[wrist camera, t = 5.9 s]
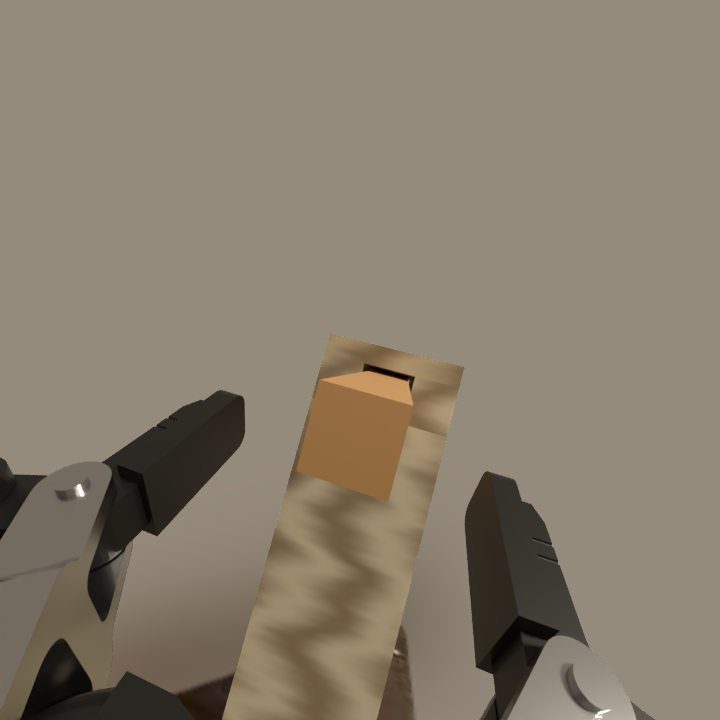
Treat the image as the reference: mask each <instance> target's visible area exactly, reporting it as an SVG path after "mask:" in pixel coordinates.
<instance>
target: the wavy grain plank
mask: <svg viewBox="0 0 720 720" xmlns="http://www.w3.org/2000/svg"><path fill="white" fill-rule="evenodd" d="M370 370H379V371H383V372H386V373H390V374H394V375H398V376H402V377H405V378H407V379H408V380H410V381H409V388H410V392H411V397H412V401H413V405H414V406H413V410H412V414H411V417H410V421H409V425H408V429H407V433H406V436H405V440H404V444H403V448H402V452H401V455H400V459H399V463H398V467H397V471H396V474H395V478H394V482H393V486H392V490H391V494H390V497H389V501H388V502H387V501H384V500H381V499H378V498H375V497H372V496H369V495H366V494H363V493H360V492H357V491H354V490H351V489H348V488H345V487H342V486H339V485H336V484H333V483H330V482H327V481H324V480H321V479H318V478H315V477H312V476H309V475H306V474H303V473H300V472H297V471H296V470H297V466H298V462H299V458H300V454H301V450H302V446H303V442H304V438H305V434H306V430H307V426H308V423H309V419H310V415H311V411H312V407H313V403H314V399H315V395H316V391H317V387H318V383H319V380H320V379H325V378H331V377H337V376H342V375H348V374H353V373H359V372H365V371H370ZM463 370H464V367H461V366H457V365H453V364H449V363H445V362H441V361H437V360H433V359H429V358H425V357H421V356H417V355H413V354H409V353H405V352H401V351H397V350H393V349H389V348H385V347H381V346H378V345H374V344H369V343H365V342H362V341H358V340H354V339H350V338H346V337H341V336H337V335H334V334H330V335H329V339H328V342H327V346H326V349H325V353H324V356H323V360H322V364H321V367H320V371H319V375H318V378H317V381H316V385H315V389H314V392H313V396H312V399H311V403H310V407H309V410H308V414H307V417H306V421H305V424H304V428H303V432H302V435H301V439H300V442H299V446H298V449H297V453H296V457H295V460H294V464H293V467H292V471H291V474H290V478H289V482H288V485H287V489H286V492H285V496H284V500H283V503H282V507H281V510H280V514H279V517H278V521H277V525H276V528H275V532H274V535H273V539H272V542H271V546H270V550H269V553H268V557H267V560H266V564H265V567H264V571H263V575H262V578H261V582H260V585H259V589H258V592H257V596H256V600H255V603H254V607H253V611H252V614H251V618H250V621H249V625H248V628H247V632H246V635H245V639H244V643H243V646H242V650H241V654H240V657H239V661H238V664H237V668H236V671H235V675H234V678H233V682H232V685H231V689H230V693H229V696H228V700H227V703H226V707H225V710H224V714H223V718H222V720H377V716H378V712H379V708H380V704H381V700H382V696H383V692H384V688H385V684H386V680H387V676H388V672H389V668H390V664H391V660H392V656H393V652H394V648H395V644H396V640H397V636H398V632H399V628H400V624H401V620H402V615H403V612H404V608H405V603H406V600H407V595H408V591H409V587H410V583H411V579H412V575H413V571H414V567H415V563H416V559H417V555H418V551H419V547H420V543H421V539H422V535H423V531H424V527H425V523H426V519H427V515H428V511H429V507H430V503H431V499H432V494H433V491H434V487H435V483H436V478H437V474H438V470H439V466H440V462H441V458H442V454H443V450H444V446H445V441H446V438H447V434H448V430H449V426H450V422H451V418H452V414H453V410H454V406H455V402H456V398H457V394H458V390H459V386H460V382H461V378H462V374H463Z"/></svg>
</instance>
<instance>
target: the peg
mask: <svg viewBox="0 0 720 720" xmlns="http://www.w3.org/2000/svg"><path fill="white" fill-rule="evenodd" d="M413 406H414V405H413V401H412V397H411V392H410V388H409V384H408V379H407V378H405V377H402V376H398V375H394V374H390V373H386V372H383V371H379V370H370V371H365V372H359V373H353V374H348V375H342V376H337V377H331V378H325V379H320V380H319V383H318V387H317V391H316V395H315V399H314V403H313V407H312V411H311V415H310V419H309V423H308V426H307V430H306V434H305V438H304V442H303V446H302V450H301V454H300V458H299V462H298V466H297V470H296V471H297V472H300V473H303V474H306V475H309V476H312V477H315V478H318V479H321V480H324V481H327V482H330V483H333V484H336V485H339V486H342V487H345V488H348V489H351V490H354V491H357V492H360V493H363V494H366V495H369V496H372V497H375V498H378V499H381V500H384V501H387V502H388V501H389V497H390V494H391V490H392V486H393V482H394V478H395V474H396V471H397V467H398V463H399V459H400V455H401V452H402V448H403V444H404V440H405V436H406V433H407V429H408V425H409V421H410V417H411V414H412V410H413Z"/></svg>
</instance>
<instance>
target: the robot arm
mask: <svg viewBox="0 0 720 720" xmlns="http://www.w3.org/2000/svg"><path fill="white" fill-rule="evenodd" d="M244 406H245V405H244V398H243V397H242V396H240V395H237V394H233V393H230V392H227V391H223V390H219V391H217V392H215V393H214V394H213V395H211V396H210V397H208V398H207V399H206V400H204V401H203V400H199V401H196V402H194V403H191V404H189V405H186V406H183V407H182V408H180V409H179V410H177V411H176V412H175V413H173V414H172V415H170V416H169V418H168V419H167V418H166V419H164V420H163V421H161V422H160V423H159V424H157V427H153V428H151V429H150V430H148V431H147V432H146V433H144V434H143V435H141V436H140V437H138V438H137V439H135V440H134V441H133V442H131V443H130V444H128V445H127V446H125V447H124V448H122V449H121V450H120V451H119V452H117V453H115V454H114V455H112V456H111V457H109V458H108V459H107V460H105V461H103V462H102V463H100V462H83V463H77V464H73V465H70V466H68V467H64V468H62V469H60V470H58V471H56V472H54V473H52V474H50V475H48V476H43V475H13V474H12V472H11V470H10V468H9V466H8V464H7V462H6V461H5V460H4V459H2V458H0V720H195V719H194V717H193V716H192V715H191V714H190V712H189V711H188V710H187V709H186V707H185V706H184V705H183V704H182V702H181V701H180V700H179V699H178V697H177V696H176V695H174V694H172V693H170V692H168V691H166V690H164V689H162V688H160V687H158V686H156V685H154V684H151V683H149V682H147V681H146V680H143V679H141V678H139V677H137V676H135V675H133V674H131V673H129V672H126V673H125V674H124V676H123V677H122V679H121V680H120V681H119V683H118V684H117V686H116V687H113V688H107V686H108V682H109V677H110V672H111V665H112V657H113V644H112V643H113V641H112V636H113V627H114V621H115V617H116V613H117V609H118V605H119V601H120V597H121V593H122V588H123V584H124V580H125V576H126V571H127V568H128V564H129V559H130V555H131V552H132V547H133V539H134V538H135V537H136V536H137V535H138V534H139V533H140V532H141V531H142V530H143V531H146V532H149V533H151V534H153V535H156V536H158V535H159V534H160V532H162V530H163V529H164V528H165V527H166V526H167V525H168V524H169V523H170V522H171V520H173V518H174V517H175V516H176V515H177V514H178V513H179V512H180V511H181V510H182V509H183V508H184V507H185V506H186V504H187V503H188V502H189V501H190V500H191V499H192V498H193V497H194V495H196V494H197V492H198V491H199V490H200V489H201V488H202V487H203V486H204V485H205V484H206V483H207V482H208V480H209V479H210V478H211V477H212V476H213V475H214V474H215V473H216V472H217V471H218V470H219V469H220V467H221V466H222V465H223V464H224V463H225V462H226V461H227V460H228V459H229V458H230V457H231V456H232V455H233V453H234V452H235V451H236V450H237V449H238V448H239V446H240V445H241V443H242V441H243V438H244V434H245V408H244ZM465 535H466V547H467V560H468V572H469V585H470V597H471V610H472V622H473V635H474V648H475V660H476V667H477V668H479V669H481V670H484V671H486V672H488V673H491V674H493V677H494V684H495V695H494V696H493V697H492V699H491V701H490V702H489V704H488V706H487V708H486V710H485V711H484V713H483V715H482V717H481V718H480V720H655V719H653V718H652V717H650V716H649V715H648V714H646V713H645V712H644V711H642V710H641V709H640V708H638V707H637V706H636V705H635V704H633V703H632V702H631V701H630V700H629V698H628V696H627V694H626V692H625V690H624V689H623V687H622V685H621V683H620V682H619V681H618V679H617V678H616V676H615V675H614V673H613V672H612V671H611V669H609V667H608V666H607V665H606V663H604V661H603V660H602V659H601V658H600V657H599V656H598V655H597V654H596V653H594V652H593V651H592V650H591V649H590V648H589V646H588V644H587V641H586V639H585V636H584V633H583V630H582V628H581V625H580V622H579V619H578V616H577V613H576V611H575V608H574V605H573V602H572V599H571V596H570V594H569V591H568V588H567V585H566V582H565V579H564V577H563V574H562V571H561V568H560V566H559V565H558V559H557V557H556V554H555V551H554V548H553V547H552V546H551V545H552V543H551V539H550V537H549V534H548V531H547V528H546V526H545V523H544V521H543V520H542V519H541V517H540V516H539V515H538V513H537V512H536V510H535V509H534V507H533V506H532V505H531V504H528V503H526V502H522V501H521V497H520V494H519V490H518V487H517V484H516V482H515V480H513V479H511V478H508V477H504V476H501V475H498V474H494V473H491V472H485V473H484V474H483V476H482V478H481V480H480V482H479V484H478V486H477V488H476V490H475V492H474V494H473V496H472V498H471V500H470V502H469V505H468V507H467V511H466V516H465Z"/></svg>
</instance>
